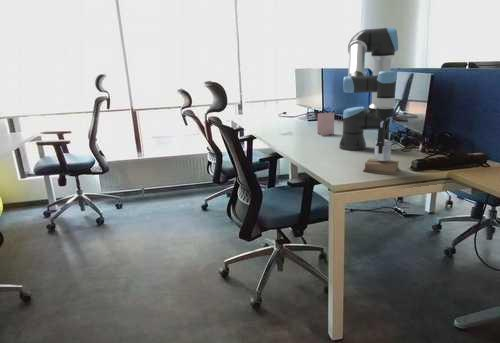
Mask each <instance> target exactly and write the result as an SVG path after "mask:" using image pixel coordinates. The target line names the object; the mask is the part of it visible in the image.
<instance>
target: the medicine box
mask: <svg viewBox="0 0 500 343" xmlns="http://www.w3.org/2000/svg"><path fill="white" fill-rule="evenodd" d="M377 139H378V138H375V139H374V152H373V153H374V154H373V157H374V159H377V150H378V146H376V144H377ZM380 143H381V142H380ZM391 156H392V141H391V140H390V141H389V140H386V139H385V141H384V161H390V160H391V158H392V157H391Z"/></svg>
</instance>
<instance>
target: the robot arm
mask: <svg viewBox="0 0 500 343" xmlns="http://www.w3.org/2000/svg"><path fill="white" fill-rule="evenodd" d="M398 35H399V34H398V31H397V29H396V28H395V27H381V28H371V29H369V28H367V29H362V30H361V31H359V32H357V33H356V34H354V35H353V36H352V38H351V39H350V40H349V41H348V45H347V54H348V56H349V58H348V59H349V60H348V71H347V72H348V73H347V76H344V77H343V81H342V82H343V83H342V85H343V86H342V87H343V88H342V90H343V92H344V93H346V94H347V93H348V94H349V93H351V94H356V93H357V94H359V93H360V94H361V93H371V96H372V97H371V103H370V104H369V105H368V108H367V109H366V108H365V106H353V107H349V108H345V109H344V110H343V116H342V119H343V120H342V136H341V137H340V138H341V139H340V142H339V147H338V148H339V149H341V150H345V151H346V150H347V151H361V150H365V149H366V148H367V144H366V143H367V142H366V138H365V137H364V136H365V135H364V132H365V131H377V138H376V139H377V144H376V146H378V150H377V158H376V159H377V160H379V161H384V141H385V139H386V140H389V141H391V139H390V128H391V126H392V122H393V117H394V116H395V108H394V107H395V106H396V105H395V104H396V87H397V72H396V70H391V68H392V59H393V57H394V56H395V54H396V52H398V51H399V36H398ZM366 53H371V56H370V57H372V58H373V75H366V73H365V66H366V64H365V62H366ZM380 142H381V143H380Z"/></svg>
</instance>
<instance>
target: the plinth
mask: <svg viewBox="0 0 500 343" xmlns="http://www.w3.org/2000/svg"><path fill="white" fill-rule="evenodd" d="M399 170H400V167H399V160H390V161H379V160H377V158H368V159H367V160H366V162H365V163H364V168H363V171H362V172H364V173H371V174H372V173H373V174H381V175H382V174H383V175H384V174H385V175H393V176H397V174H398V172H399Z"/></svg>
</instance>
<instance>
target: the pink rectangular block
mask: <svg viewBox="0 0 500 343" xmlns="http://www.w3.org/2000/svg"><path fill="white" fill-rule="evenodd" d="M316 132H317V134H321V135H320V137H325V136H324V135H326V136H330V135H329V134H332V135H335V112H318V113H317V131H316ZM317 134H316V135H317Z"/></svg>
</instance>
